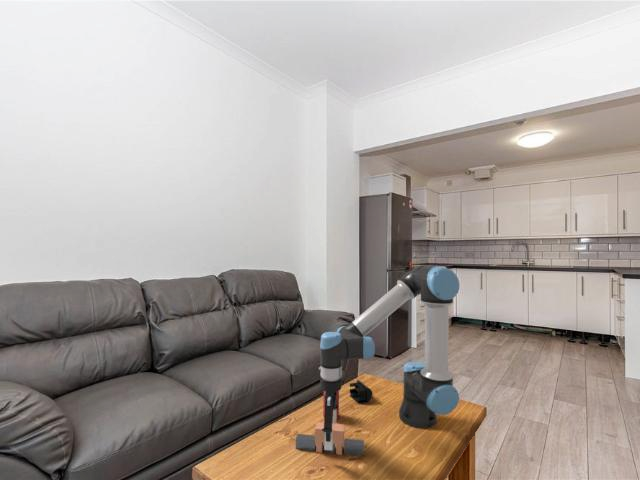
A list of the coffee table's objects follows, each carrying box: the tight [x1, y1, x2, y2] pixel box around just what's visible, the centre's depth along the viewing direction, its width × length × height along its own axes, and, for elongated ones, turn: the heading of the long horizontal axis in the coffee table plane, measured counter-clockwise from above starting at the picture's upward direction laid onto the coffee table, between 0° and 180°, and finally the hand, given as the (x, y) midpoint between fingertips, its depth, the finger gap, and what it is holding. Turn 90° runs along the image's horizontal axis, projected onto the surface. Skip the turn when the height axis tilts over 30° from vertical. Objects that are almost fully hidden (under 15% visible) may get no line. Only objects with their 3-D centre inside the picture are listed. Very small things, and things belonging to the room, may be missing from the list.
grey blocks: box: [295, 433, 365, 457], centre depth 116 cm, size 24×3×4 cm, turn 82°
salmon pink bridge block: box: [314, 421, 346, 456], centre depth 116 cm, size 10×4×8 cm, turn 82°
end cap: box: [349, 380, 373, 405], centre depth 155 cm, size 10×7×7 cm
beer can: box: [322, 390, 340, 420], centre depth 138 cm, size 7×7×12 cm
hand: (330, 437), depth 116 cm, fingers open, 13 cm apart
